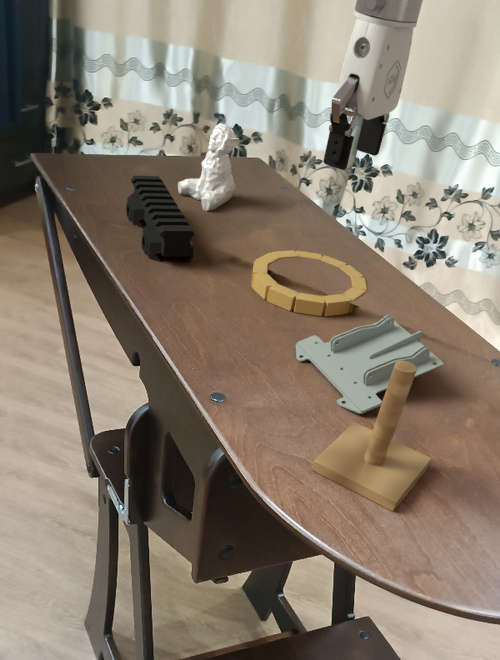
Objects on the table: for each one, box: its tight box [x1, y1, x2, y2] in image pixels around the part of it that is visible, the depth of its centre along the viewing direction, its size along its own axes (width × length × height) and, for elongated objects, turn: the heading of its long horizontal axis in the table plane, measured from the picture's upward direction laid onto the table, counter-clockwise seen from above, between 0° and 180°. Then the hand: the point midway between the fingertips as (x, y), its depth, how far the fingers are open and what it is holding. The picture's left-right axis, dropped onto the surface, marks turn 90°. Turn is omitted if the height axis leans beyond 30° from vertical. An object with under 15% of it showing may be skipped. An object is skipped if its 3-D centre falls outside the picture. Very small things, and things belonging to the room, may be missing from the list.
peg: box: [311, 361, 432, 512], centre depth 68 cm, size 9×9×12 cm
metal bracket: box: [295, 314, 444, 415], centre depth 85 cm, size 14×6×15 cm
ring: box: [250, 249, 368, 317], centre depth 101 cm, size 16×16×2 cm
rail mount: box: [125, 175, 196, 263], centre depth 107 cm, size 21×6×5 cm, turn 16°
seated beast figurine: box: [177, 122, 240, 212], centre depth 119 cm, size 10×9×12 cm
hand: (351, 159), depth 95 cm, fingers open, 9 cm apart
